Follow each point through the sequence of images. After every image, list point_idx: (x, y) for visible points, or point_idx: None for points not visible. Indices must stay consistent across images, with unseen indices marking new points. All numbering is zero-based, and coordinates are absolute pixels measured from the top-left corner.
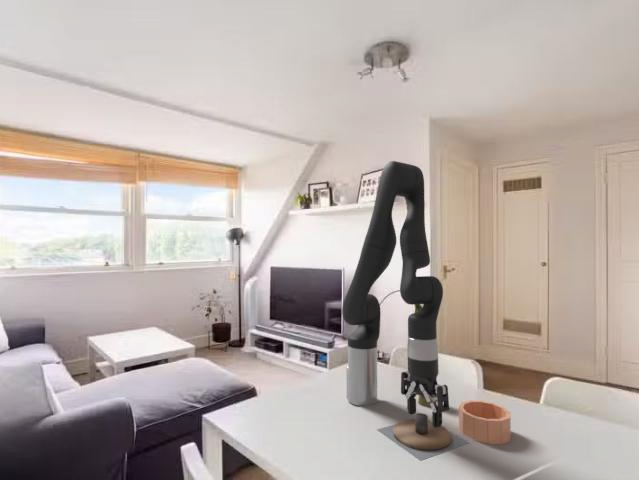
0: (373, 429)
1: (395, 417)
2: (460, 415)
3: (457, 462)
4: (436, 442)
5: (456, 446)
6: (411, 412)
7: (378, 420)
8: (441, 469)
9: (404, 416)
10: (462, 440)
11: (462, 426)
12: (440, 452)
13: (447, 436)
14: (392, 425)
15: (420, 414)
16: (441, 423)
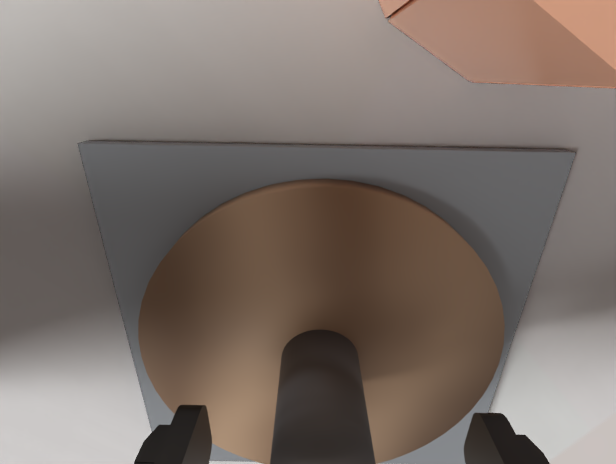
0: (137, 449)
1: (28, 296)
2: (489, 27)
3: (587, 347)
4: (458, 372)
5: (529, 266)
6: (205, 451)
7: (47, 390)
8: (554, 427)
9: (24, 238)
10: (520, 172)
11: (489, 70)
12: (495, 373)
13: (462, 275)
14: (144, 388)
15: (298, 457)
16: (536, 454)
